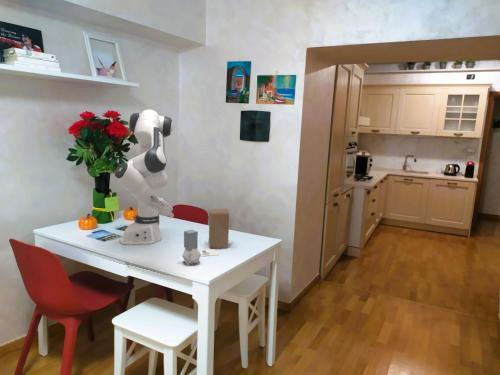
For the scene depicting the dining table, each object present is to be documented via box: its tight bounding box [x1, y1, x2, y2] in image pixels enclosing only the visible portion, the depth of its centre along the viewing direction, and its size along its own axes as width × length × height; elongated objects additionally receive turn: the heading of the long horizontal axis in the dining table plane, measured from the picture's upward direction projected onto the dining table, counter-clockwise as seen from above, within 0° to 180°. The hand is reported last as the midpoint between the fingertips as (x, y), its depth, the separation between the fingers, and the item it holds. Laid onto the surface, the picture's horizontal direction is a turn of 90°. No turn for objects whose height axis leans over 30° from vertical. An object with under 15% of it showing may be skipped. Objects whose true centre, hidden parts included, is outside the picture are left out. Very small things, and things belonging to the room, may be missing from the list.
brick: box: [183, 229, 199, 250], centre depth 174 cm, size 5×5×8 cm
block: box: [208, 208, 230, 249], centre depth 201 cm, size 10×10×20 cm
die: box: [181, 247, 201, 265], centre depth 176 cm, size 8×9×10 cm
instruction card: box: [199, 248, 219, 258], centre depth 190 cm, size 12×8×1 cm, turn 112°
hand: (166, 213), depth 164 cm, fingers open, 8 cm apart
